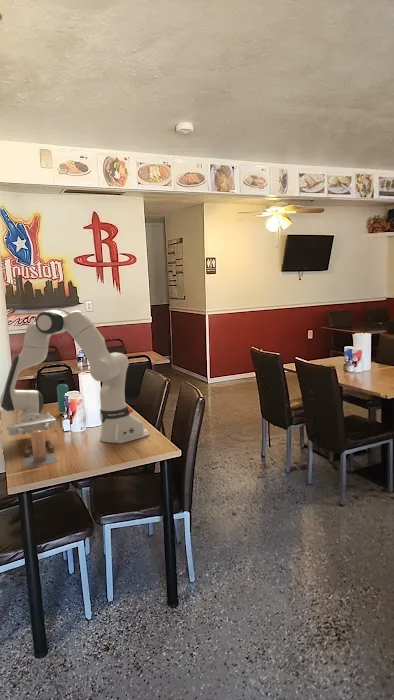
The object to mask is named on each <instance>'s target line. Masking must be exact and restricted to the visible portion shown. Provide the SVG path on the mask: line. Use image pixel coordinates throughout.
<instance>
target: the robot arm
mask: <svg viewBox="0 0 394 700" xmlns="http://www.w3.org/2000/svg"><path fill="white" fill-rule="evenodd" d="M65 333H68V334H69V335H70V336H71V337H72V338H73V340H74V341H75V343H76V344H77V346H78V347H79V348H80V349H81V350H82V353H83V354H84V356H85V357H86V360H87V362H88V365H89V374H90V376H91V378H92V379H93V380H95V381H96V382H101V383H102V385H101V388H100V390H99V391H100V392H99V402H100V409H99V416H100V421H101V426H100V427H101V429H100V436H99V441H101V442H102V443H103V442H104V443H111V444H112V443H113V444H114V443H115V444H124V443H127V442H131V441H135V440H139V439H142V438H145V437H148V436H149V434H150V432H149V430H148V429H146V428H144V426H143V425H144V424H143V422H142V421H141V419H139V418H138V417H136V416H135V415H133V414H132V413H133V411H134V409H133V408H131V407H129V406H126V399H125V398H126V396H125V395H126V393H125V387H126V378H127V371H128V368H129V363H130V362H129V359H128V357H127V356H126V354H125V353H122V352H114V351H113V352H109V350H108V348H107V345H106V339H105V338H104V336H103V335H102V333H101V332H100V331H99V329H98V328H97V327H96V325H95V324H94V323H93V322H92V321H91V319H90V318H88V316H87V315H86V314H85V313H83V311H81V310H72V311H69V312H68V311H66V310H61V309H60V310H58V309H50V310H48V309H47V310H43V311H41V312H40V313H39V314H38V315H36V317H35V321H33V322H31V323H29V324H28V325H27V327H26V330H25V333H24V337H23V345H22V349H21V351H20V353H19V354H17V355H15V356H14V358H13V360H12V362H11V366H10V368H9V371H8V375H7V379H6V381H5V385H4V388H3V391H2V393H1V396H0V407H1V408H2V410H4V411H6V412H14V411H18V415H17V420H18V422H13V423H10V424H8V426H6V430H7V431H8V435H9V436H16V435H21V436H22V435H25V434H27V433H28V434H31V431H34V430H40V429H41V430H44V431H47V430H49V429H54V428H56V427H57V425H58V424H57V419H56V417H55V416H54V415H51V414H50V412H42V411H43V409H44V396H43V394H42V393H41V392H40V391H39V390H37V389H36V390H35V389H15V387H16V385H17V381H18V378H19V374H20V373H21V372H22V371H24V370H26V369H27V368H31V367H32V368H33V367H35V366H37V365H40V364H41V363H43V362H44V361H45V360H46V359H47V357H48V352H49V346H50V345H49V343H50V338H51V336H53V335H60V334H65Z"/></svg>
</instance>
